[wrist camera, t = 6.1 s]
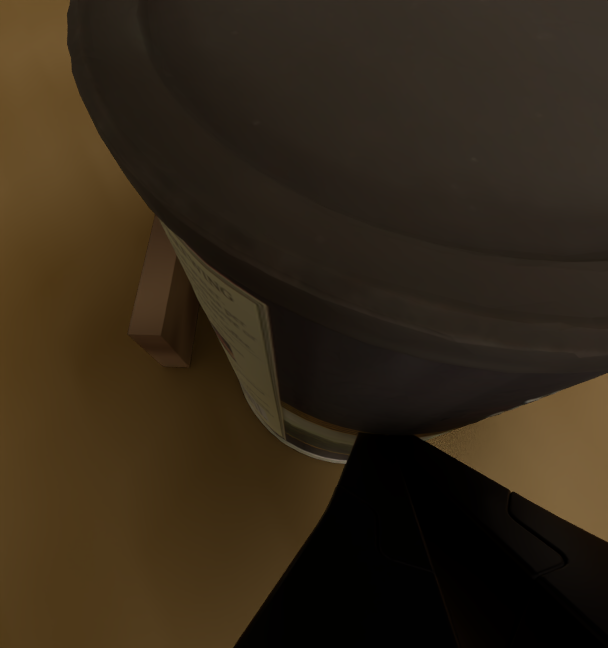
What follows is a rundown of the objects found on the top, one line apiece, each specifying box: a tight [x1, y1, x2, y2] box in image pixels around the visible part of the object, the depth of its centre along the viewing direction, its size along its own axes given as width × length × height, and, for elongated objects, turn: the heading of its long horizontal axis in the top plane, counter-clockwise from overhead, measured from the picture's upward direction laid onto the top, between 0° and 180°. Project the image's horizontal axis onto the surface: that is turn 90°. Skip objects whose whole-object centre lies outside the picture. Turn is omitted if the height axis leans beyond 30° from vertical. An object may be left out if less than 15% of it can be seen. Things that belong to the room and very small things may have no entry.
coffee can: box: [67, 0, 608, 464], centre depth 11 cm, size 10×10×14 cm
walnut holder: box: [128, 214, 200, 367], centre depth 18 cm, size 11×16×4 cm
